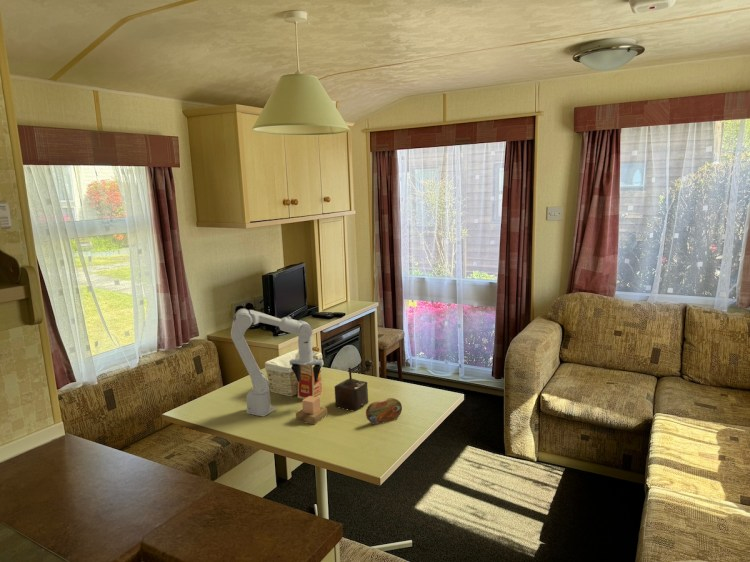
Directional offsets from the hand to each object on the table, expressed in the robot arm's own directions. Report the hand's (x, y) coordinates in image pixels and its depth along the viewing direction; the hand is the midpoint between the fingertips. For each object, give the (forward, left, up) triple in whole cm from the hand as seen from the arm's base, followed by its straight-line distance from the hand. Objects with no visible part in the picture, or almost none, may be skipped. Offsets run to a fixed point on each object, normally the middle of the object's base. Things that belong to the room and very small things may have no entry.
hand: (307, 381), depth 220 cm
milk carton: (-5, +9, -11) cm, 15 cm away
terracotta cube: (+9, -11, -7) cm, 16 cm away
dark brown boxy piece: (+18, +9, -11) cm, 23 cm away
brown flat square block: (+9, -11, -10) cm, 18 cm away
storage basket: (-18, +15, -11) cm, 26 cm away
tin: (+37, -2, -11) cm, 39 cm away
